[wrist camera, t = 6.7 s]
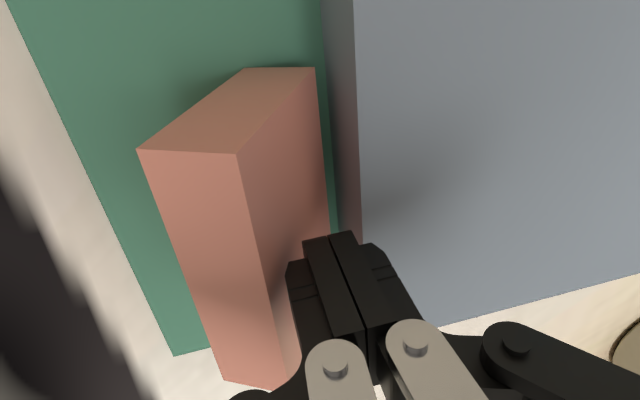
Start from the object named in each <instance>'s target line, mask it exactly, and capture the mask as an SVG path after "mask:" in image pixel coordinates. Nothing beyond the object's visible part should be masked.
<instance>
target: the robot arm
mask: <svg viewBox="0 0 640 400" xmlns="http://www.w3.org/2000/svg"><path fill="white" fill-rule="evenodd" d="M302 249H303V255H304V258H303V259H298V260H294V261H290V262H288V265H287V269H286V272H285V275H284V276H285V281H286V286H287V291H288V296H289V301H290V307H291V312H292V316H293V320H294V324H295V328H296V333H297V337H298V341H299V345H300V350H301V354H302V360H301V363H300V366H299V368H298V370H297V371H296V373H295V374H294V375H293V377H291V378H290V379H289V380H288V381H287V382H286V383H284V384H283V385H281V386H280V387H278V388H277V389H275V390H274V391H272V392H271V393H268V392H266V391H263V390H257V389H254V390H247V391H243V392H241V393H238V394H237V395H235V396H233V397H232V398H231V399H229V400H377V398H376V394H375V391H374V387H373V386H375V385H379V384H380V385H381V387H382V390H383V392H384V395H385V397H386V400H640V375H638V374H636V373H634V372H631V371H629V370H627V369H624V368H622V367H620V366H617V365H615V364H613V363H611V362H608V361H606V360H604V359H601V358H599V357H597V356H594V355H592V354H590V353H587V352H585V351H583V350H580V349H578V348H576V347H574V346H571V345H569V344H567V343H564V342H562V341H560V340H557V339H555V338H553V337H550V336H548V335H546V334H543V333H541V332H539V331H537V330H534V329H532V328H530V327H527V326H525V325H522V324H519V323H515V322H509V321H507V322H498V323H495V324H493V325H491V326H489V327H488V328H487V329H486V331H485V332H484V335H483V336H462V335H451V334H447V333H444V332H441V331H439V329H437V328H436V327H435V326H434V325H432V324H430V323H428V322H426V321H425V320H424V319H423V317H422V316H421V314H420V313H419V311H418V309H417V307H416V306H415V304H414V302H413V300H412V299H411V297H410V295H409V294H408V292H407V290H406V288H405V287H404V285H403V283H402V281H401V280H400V278H399V277H398V274H397V273H396V271H395V269H394V267H392V264H391V262H390V261H389V259H388V257H387V255H386V254H385V252H384V251H383V250H381V249H380V248H379V247H377V246H376V245H374V244H373V243H372V242H371V243H366V244H362V245H359V244H358V242H357V240H356V238H355V236H354V234H353V232H352V231H351V230H346V231H342V232H338V233H333V234H329V235H327V237H326V236H320V237H316V238H312V239H307V240H303V241H302Z"/></svg>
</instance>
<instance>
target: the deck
mask: <svg viewBox="0 0 640 400" xmlns="http://www.w3.org/2000/svg"><path fill="white" fill-rule="evenodd" d="M320 9H321V21H322V34H323V46H324V58H325V70H326V83H327V95H328V107H329V119H330V131H331V144H332V156H333V168H334V180H335V193H336V205H337V217H338V229H339V232H342V231H346V230H351V231H352V232H353V234H354V236H355V238H356V240H357V242H358V244H359V245H362V244H366V243H371V242H372V243H373V244H374V245H376V246H377V247H379V248H380V249H381V250H383V251H384V252H385V254H386V255H387V257H388V259H389V261H390V262H391V264H392V267H394V269H395V271H396V273H397V274H398V277H399V278H400V280H401V281H402V283H403V285H404V287H405V288H406V290H407V292H408V294H409V295H410V297H411V299H412V300H413V302H414V304H415V306H416V307H417V309H418V311H419V313H420V314H421V316H422V317H423V319H424V320H425V321H426V322H428V323H430V324H432V325H434V326H435V327H436V328H437V327H441V326H445V325H448V324H452V323H456V322H460V321H463V320H467V319H471V318H475V317H478V316H482V315H486V314H489V313H493V312H497V311H501V310H504V309H508V308H512V307H515V306H519V305H523V304H527V303H530V302H534V301H538V300H541V299H545V298H549V297H553V296H556V295H560V294H564V293H568V292H571V291H575V290H579V289H582V288H586V287H590V286H594V285H597V284H601V283H605V282H608V281H612V280H616V279H620V278H623V277H627V276H631V275H635V274H638V273H640V0H320Z"/></svg>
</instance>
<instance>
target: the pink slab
mask: <svg viewBox="0 0 640 400" xmlns="http://www.w3.org/2000/svg"><path fill="white" fill-rule="evenodd" d="M136 152H137V154H138V157H139V160H140V162H141V165H142V167H143V170H144V173H145V175H146V178H147V181H148V183H149V186H150V188H151V191H152V194H153V196H154V199H155V202H156V204H157V207H158V209H159V212H160V215H161V217H162V220H163V222H164V225H165V228H166V230H167V233H168V236H169V238H170V241H171V243H172V246H173V249H174V251H175V254H176V257H177V259H178V262H179V264H180V267H181V270H182V272H183V275H184V277H185V280H186V283H187V285H188V288H189V291H190V293H191V296H192V298H193V301H194V304H195V306H196V309H197V312H198V314H199V317H200V319H201V322H202V325H203V327H204V330H205V333H206V335H207V338H208V340H209V343H210V346H211V348H212V351H213V353H214V356H215V359H216V361H217V364H218V367H219V369H220V372H221V374H222V377H223V380H226V381H230V382H235V383H239V384H244V385H249V386H253V387H258V388H262V389H267V390H271V391H274V390H275V389H277V388H278V387H280V386H281V385H283V384H284V383H286V382H287V381H288V380H289V379H290V378H291V377H293V375H294V374H295V373H296V371H297V370H298V368H299V366H300V363H301V360H302V354H301V350H300V345H299V341H298V337H297V333H296V328H295V324H294V320H293V316H292V312H291V307H290V301H289V296H288V291H287V286H286V281H285V276H284V275H285V272H286V269H287V265H288V262H290V261H294V260H298V259H303V258H304V255H303V249H302V241H303V240H307V239H312V238H316V237H320V236H326V237H327V235H329V234H331V231H330V221H329V210H328V200H327V189H326V179H325V169H324V158H323V148H322V138H321V127H320V117H319V106H318V96H317V86H316V75H315V67H257V68H243V69H242V70H241V71H239V72H238V73H237V74H235V75H234V76H233V77H231V78H230V79H229V80H227V81H226V82H225V83H223V84H222V85H221V86H219V87H218V88H217V89H215V90H214V91H212V92H211V93H210V94H208V95H207V96H206V97H204V98H203V99H202V100H200V101H199V102H198V103H196V104H195V105H194V106H192V107H191V108H190V109H188V110H187V111H186V112H184V113H183V114H182V115H180V116H179V117H178V118H176V119H175V120H174V121H172V122H171V123H170V124H168V125H167V126H165V127H164V128H163V129H161V130H160V131H159V132H157V133H156V134H155V135H153V136H152V137H151V138H149V139H148V140H147V141H145V142H144V143H143V144H141V145H140V146H139V147H137V148H136Z"/></svg>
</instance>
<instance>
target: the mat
mask: <svg viewBox="0 0 640 400" xmlns="http://www.w3.org/2000/svg"><path fill="white" fill-rule="evenodd" d="M5 1H6V3H7V5H8V7H9V10H10V12H11V14H12V16H13V18H14V20H15V22H16V24H17V26H18V29H19V31H20V33H21V35H22V37H23V39H24V41H25V43H26V46H27V48H28V50H29V52H30V54H31V56H32V58H33V60H34V62H35V65H36V67H37V69H38V71H39V73H40V75H41V77H42V79H43V81H44V84H45V86H46V88H47V90H48V92H49V94H50V96H51V98H52V101H53V103H54V105H55V107H56V109H57V111H58V113H59V115H60V117H61V120H62V122H63V124H64V126H65V128H66V130H67V132H68V134H69V136H70V139H71V141H72V143H73V145H74V147H75V149H76V151H77V153H78V156H79V158H80V160H81V162H82V164H83V166H84V168H85V170H86V172H87V175H88V177H89V179H90V181H91V183H92V185H93V187H94V189H95V191H96V194H97V196H98V198H99V200H100V202H101V204H102V206H103V208H104V211H105V213H106V215H107V217H108V219H109V221H110V223H111V225H112V227H113V230H114V232H115V234H116V236H117V238H118V240H119V242H120V244H121V246H122V249H123V251H124V253H125V255H126V257H127V259H128V261H129V263H130V265H131V268H132V270H133V272H134V274H135V276H136V278H137V280H138V282H139V285H140V287H141V289H142V291H143V293H144V295H145V297H146V299H147V301H148V304H149V306H150V308H151V310H152V312H153V314H154V316H155V318H156V320H157V323H158V325H159V327H160V329H161V331H162V333H163V335H164V337H165V340H166V342H167V344H168V346H169V348H170V350H171V352H172V354H173V356H178V355H182V354H186V353H190V352H194V351H198V350H202V349H206V348H210V347H211V346H210V343H209V340H208V338H207V335H206V333H205V330H204V327H203V325H202V322H201V319H200V317H199V314H198V312H197V309H196V306H195V304H194V301H193V298H192V296H191V293H190V291H189V288H188V285H187V283H186V280H185V277H184V275H183V272H182V270H181V267H180V264H179V262H178V259H177V257H176V254H175V251H174V249H173V246H172V243H171V241H170V238H169V236H168V233H167V230H166V228H165V225H164V222H163V220H162V217H161V215H160V212H159V209H158V207H157V204H156V202H155V199H154V196H153V194H152V191H151V188H150V186H149V183H148V181H147V178H146V175H145V173H144V170H143V167H142V165H141V162H140V160H139V157H138V154H137V152H136V148H137V147H139V146H140V145H141V144H143V143H144V142H145V141H147V140H148V139H149V138H151V137H152V136H153V135H155V134H156V133H157V132H159V131H160V130H161V129H163V128H164V127H165V126H167V125H168V124H170V123H171V122H172V121H174V120H175V119H176V118H178V117H179V116H180V115H182V114H183V113H184V112H186V111H187V110H188V109H190V108H191V107H192V106H194V105H195V104H196V103H198V102H199V101H200V100H202V99H203V98H204V97H206V96H207V95H208V94H210V93H211V92H212V91H214V90H215V89H217V88H218V87H219V86H221V85H222V84H223V83H225V82H226V81H227V80H229V79H230V78H231V77H233V76H234V75H235V74H237V73H238V72H239V71H241V70H242V69H243V68H257V67H315V75H316V86H317V96H318V106H319V117H320V127H321V138H322V148H323V158H324V169H325V179H326V189H327V200H328V210H329V221H330V231H331V234H333V233H338V232H339V229H338V217H337V205H336V193H335V180H334V168H333V156H332V144H331V131H330V119H329V107H328V95H327V83H326V70H325V58H324V46H323V34H322V21H321V9H320V0H5Z"/></svg>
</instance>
